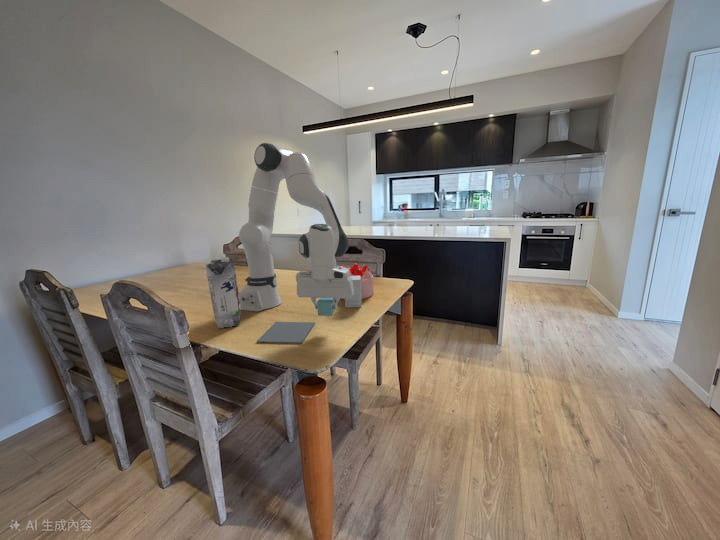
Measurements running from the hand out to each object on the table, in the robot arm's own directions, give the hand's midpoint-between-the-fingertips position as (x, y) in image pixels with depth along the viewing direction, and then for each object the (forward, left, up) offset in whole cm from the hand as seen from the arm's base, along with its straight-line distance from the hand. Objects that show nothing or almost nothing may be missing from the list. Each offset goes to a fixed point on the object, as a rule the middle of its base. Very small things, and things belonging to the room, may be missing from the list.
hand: (326, 308), depth 103 cm
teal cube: (0, 0, -2) cm, 2 cm away
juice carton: (-41, +4, -9) cm, 43 cm away
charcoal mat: (-14, -3, -8) cm, 17 cm away
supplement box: (+6, +26, -9) cm, 28 cm away
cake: (+4, +41, -9) cm, 42 cm away
